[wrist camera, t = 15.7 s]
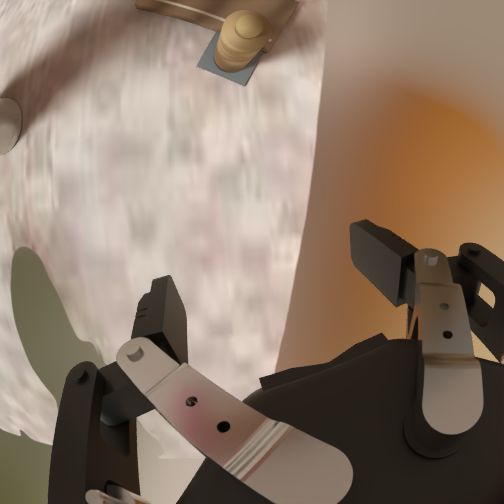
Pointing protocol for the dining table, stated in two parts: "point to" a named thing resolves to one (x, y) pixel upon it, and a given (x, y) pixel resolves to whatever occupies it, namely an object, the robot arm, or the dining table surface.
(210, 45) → the grey flat slab
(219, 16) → the walnut board
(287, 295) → the dining table surface
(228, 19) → the tan tall cylinder
